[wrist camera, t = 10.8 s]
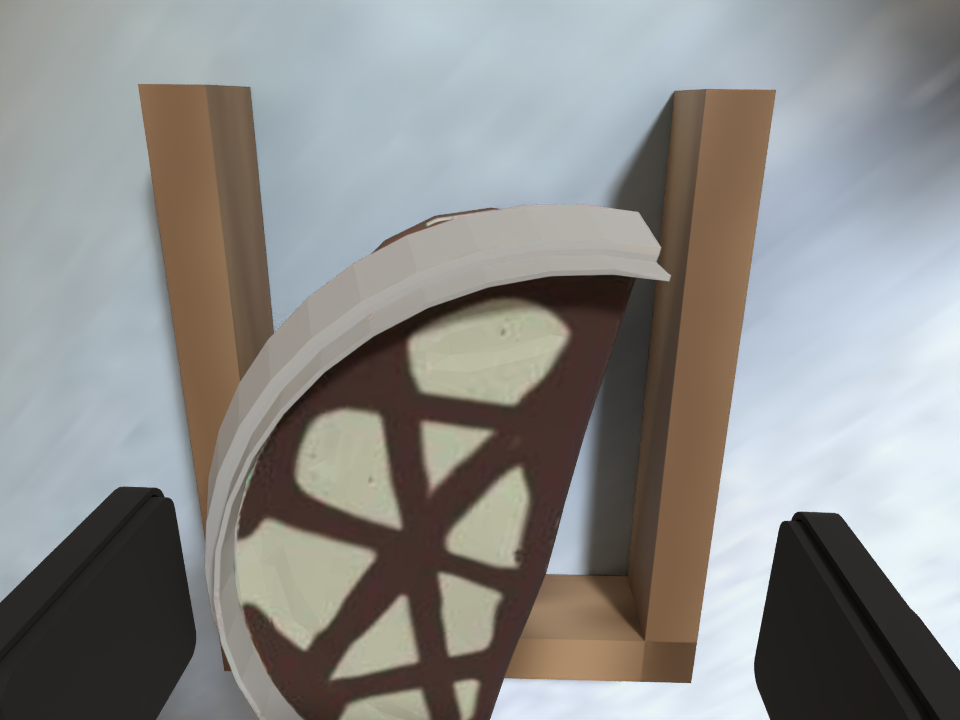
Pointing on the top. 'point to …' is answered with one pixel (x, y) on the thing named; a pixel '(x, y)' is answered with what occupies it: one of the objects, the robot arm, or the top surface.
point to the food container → (413, 462)
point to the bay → (670, 374)
